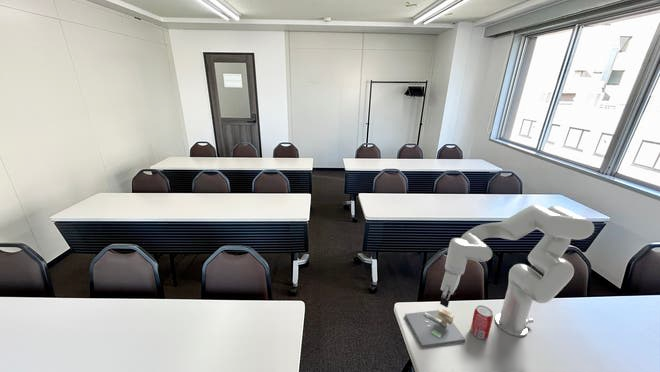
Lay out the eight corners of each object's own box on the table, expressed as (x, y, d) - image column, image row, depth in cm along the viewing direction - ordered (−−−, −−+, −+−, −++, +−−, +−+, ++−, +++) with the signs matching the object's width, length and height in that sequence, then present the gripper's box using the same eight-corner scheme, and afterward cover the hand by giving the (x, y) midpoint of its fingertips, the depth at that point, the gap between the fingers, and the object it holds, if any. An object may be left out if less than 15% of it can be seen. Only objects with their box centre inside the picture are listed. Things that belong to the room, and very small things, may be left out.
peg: (451, 325, 120) (454, 314, 118) (449, 329, 118) (452, 318, 115) (426, 312, 127) (427, 300, 125) (423, 315, 125) (425, 304, 123)
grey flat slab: (443, 311, 130) (443, 309, 129) (464, 341, 114) (465, 338, 113) (404, 316, 127) (405, 313, 126) (421, 347, 111) (422, 344, 110)
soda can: (490, 341, 114) (496, 318, 110) (472, 338, 115) (478, 315, 111) (484, 328, 121) (490, 306, 117) (467, 325, 122) (473, 303, 118)
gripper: (452, 254, 119) (445, 285, 125) (438, 272, 107) (431, 305, 112) (470, 261, 115) (462, 293, 120) (458, 280, 102) (450, 315, 107)
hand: (447, 299), depth 116 cm, fingers open, 9 cm apart
